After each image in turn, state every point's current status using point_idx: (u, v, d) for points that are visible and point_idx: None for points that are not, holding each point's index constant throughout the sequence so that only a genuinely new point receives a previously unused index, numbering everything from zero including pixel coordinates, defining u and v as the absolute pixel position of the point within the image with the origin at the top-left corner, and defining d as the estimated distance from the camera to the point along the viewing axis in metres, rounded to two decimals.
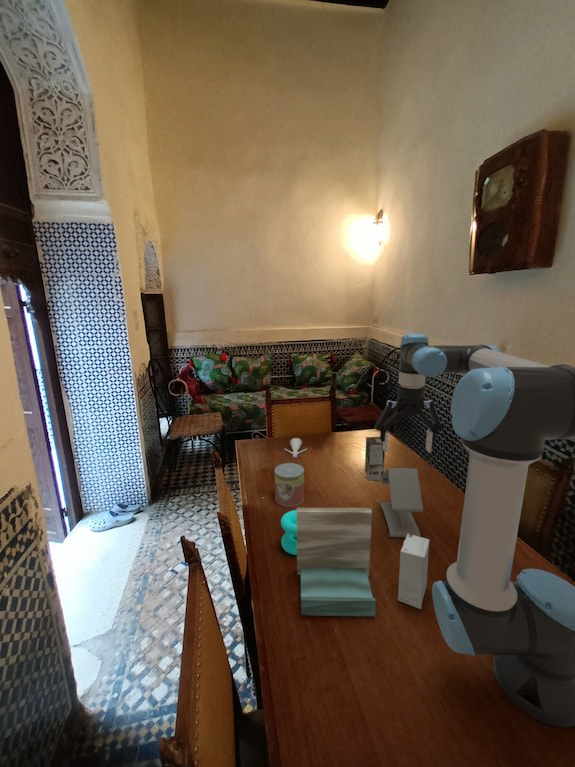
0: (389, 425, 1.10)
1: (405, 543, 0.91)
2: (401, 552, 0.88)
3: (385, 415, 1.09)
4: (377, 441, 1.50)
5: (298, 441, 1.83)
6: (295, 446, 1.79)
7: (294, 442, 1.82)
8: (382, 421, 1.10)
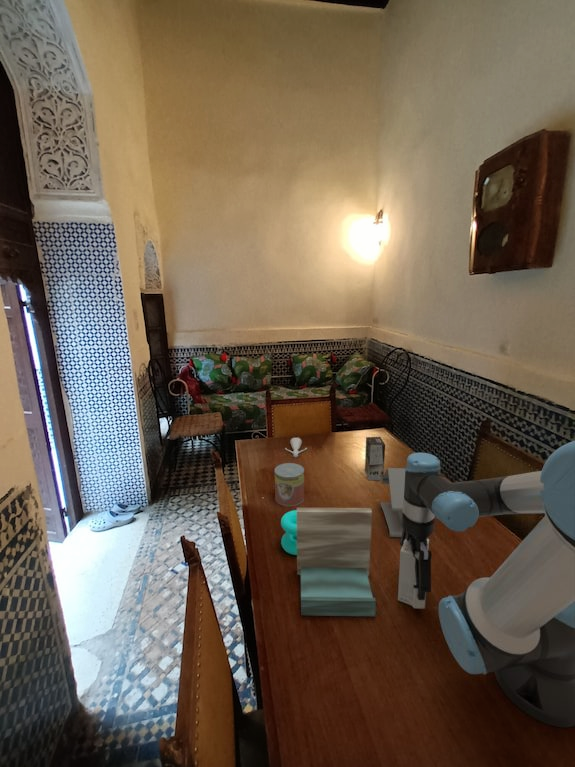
0: None
1: (405, 543, 0.91)
2: (401, 552, 0.88)
3: (403, 531, 0.97)
4: (377, 441, 1.50)
5: (298, 440, 1.84)
6: (295, 445, 1.79)
7: (295, 441, 1.82)
8: (402, 537, 0.98)
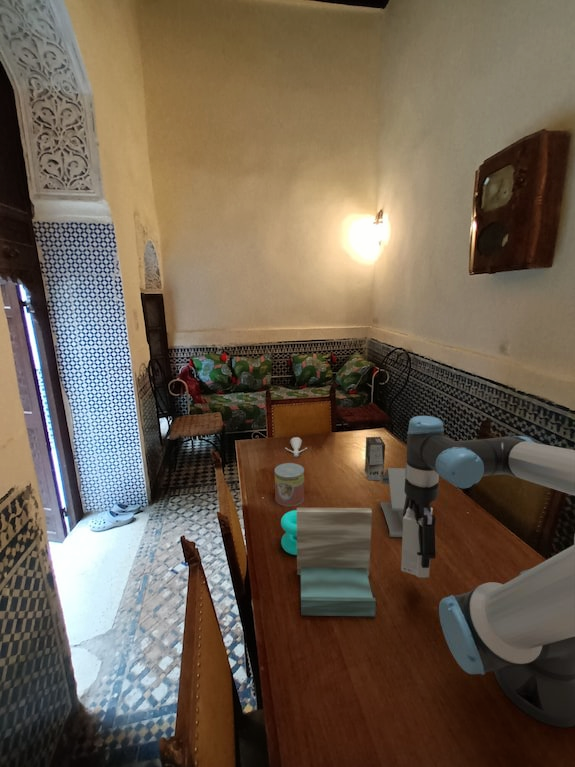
0: None
1: (408, 511, 0.88)
2: (404, 519, 0.86)
3: (405, 501, 0.94)
4: (377, 441, 1.50)
5: (298, 440, 1.84)
6: (296, 445, 1.80)
7: (295, 441, 1.83)
8: (404, 507, 0.95)
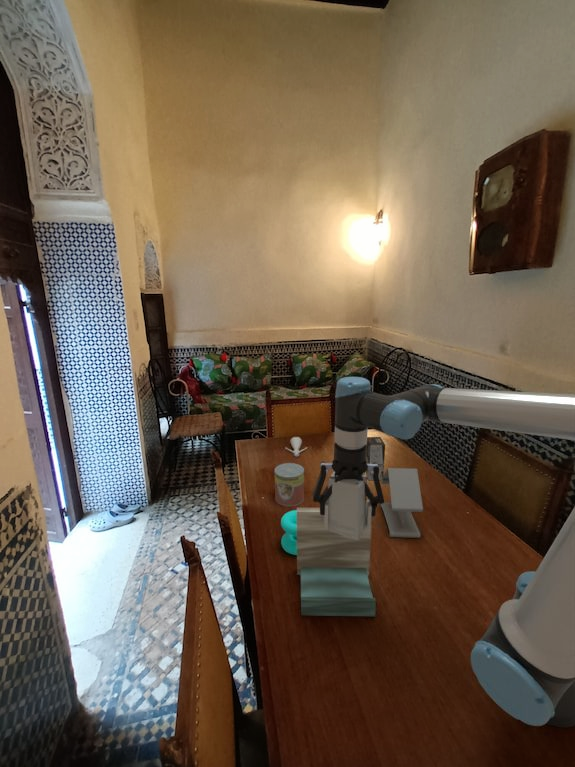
0: (328, 495, 0.86)
1: (346, 482, 0.84)
2: (359, 488, 0.82)
3: (320, 483, 0.85)
4: (377, 441, 1.50)
5: (298, 440, 1.84)
6: (296, 445, 1.80)
7: (295, 441, 1.83)
8: (318, 490, 0.86)
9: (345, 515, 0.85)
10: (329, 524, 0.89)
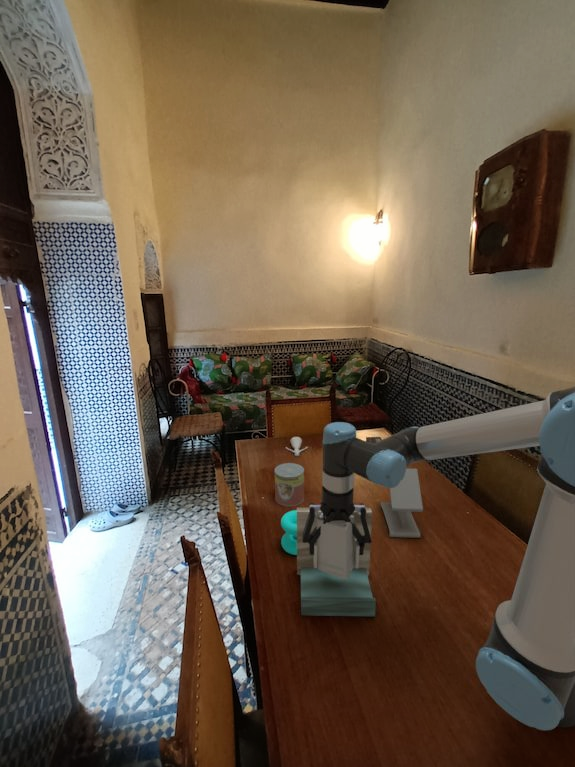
0: (317, 536, 0.88)
1: (334, 523, 0.86)
2: (347, 530, 0.84)
3: (309, 524, 0.88)
4: (377, 441, 1.50)
5: (298, 439, 1.85)
6: (296, 444, 1.80)
7: (295, 440, 1.83)
8: (307, 531, 0.88)
9: (334, 555, 0.88)
10: (318, 563, 0.91)
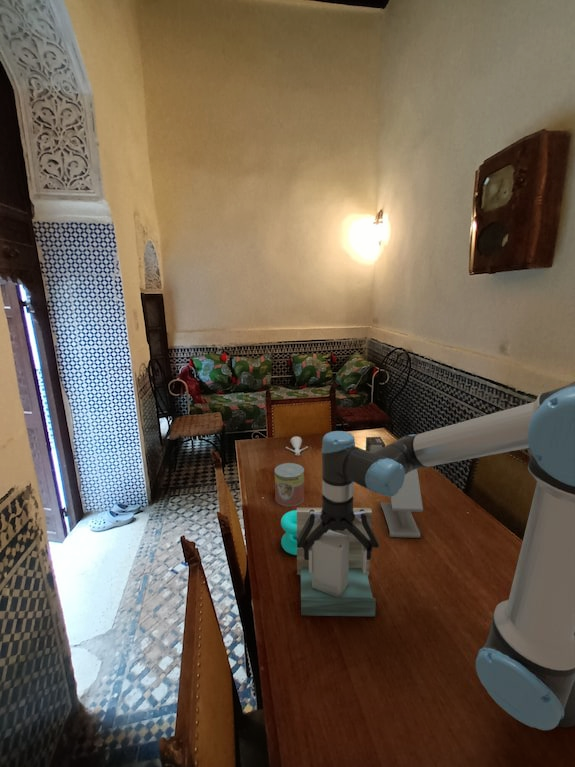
0: (312, 542, 0.88)
1: (330, 544, 0.87)
2: (342, 551, 0.85)
3: (307, 530, 0.88)
4: (377, 441, 1.50)
5: (299, 439, 1.85)
6: (296, 444, 1.81)
7: (295, 440, 1.84)
8: (303, 537, 0.88)
9: (328, 575, 0.89)
10: (313, 581, 0.92)
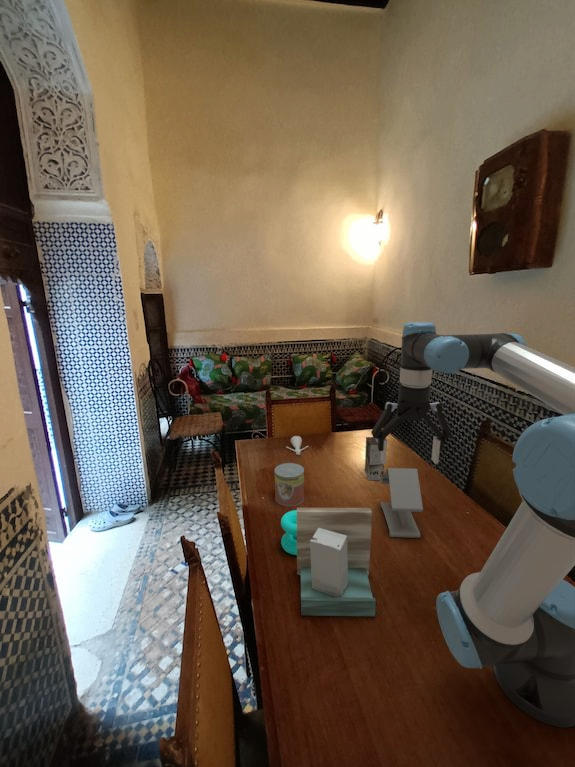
0: (388, 432, 0.92)
1: (327, 544, 0.87)
2: (340, 550, 0.85)
3: (384, 420, 0.91)
4: (377, 441, 1.50)
5: (299, 439, 1.86)
6: (297, 444, 1.81)
7: (295, 440, 1.84)
8: (380, 427, 0.92)
9: (327, 575, 0.89)
10: (312, 582, 0.92)
